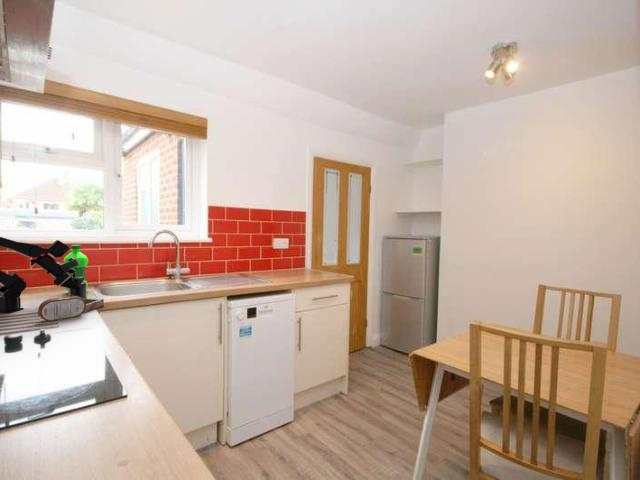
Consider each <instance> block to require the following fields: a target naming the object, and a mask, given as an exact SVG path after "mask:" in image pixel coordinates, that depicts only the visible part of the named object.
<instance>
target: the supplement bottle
mask: <svg viewBox="0 0 640 480" xmlns="http://www.w3.org/2000/svg"><path fill="white" fill-rule="evenodd" d="M73 281H74V282H75V283H76V284H77V285H78V286H79V287H80V288H81V290H80V291H78V290H74V289H70V288H69V292H68V297H70V296H78V297H81V298H84V299H88V296H87V295H88V293H87V292H88V287H87V284H86V283H85V282H84V277H83V276H77V277H73Z"/></svg>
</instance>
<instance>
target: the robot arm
mask: <svg viewBox="0 0 640 480" xmlns="http://www.w3.org/2000/svg"><path fill="white" fill-rule="evenodd" d="M0 247H1V248H5V249H9V250H11V251H14V252H16V253H18V254H20V255H23V256H24V257H27V258H32V259H30V260H29V263H30V265H29V266H30V267H34V266H35V265H37V266H38V267H40V268H41V269H42V270H44V271H45V272H46V274H47V275H51V276H52V277H53V278H54V280H53V284H54V285H55V286H56V287H63V288H65V287H66V288H70V289H74V290H78V291H80V290H81V288H80V287H79V286H78V285H77V284H76V283H75V282H74V281H73V277H76V272H75V271H76V270H75V269H74V268H72V267H76V266H78V265H80V263H79V262H78V260H77V258H76V259H74V258H70V259H68V262H66V263H64V262H60V261H59V262H58V261H57V260H56V259H61V258H63V257H65V256H66V254H67V253H69V252H70V251H72V249H71V247H70V246H69V245H67V244H66V243H63V242H62V241H61V240H59V239H56V240H55V241H53V243H52V244H51V245H49V246H48V247H44V246H43V247H42V246H41V245H39V244H35V243H29V242H28V243H26V242H22V241H21V242H19V241H16V240H12V239H9V238H6V237H3V236H0ZM73 272H75V273H74V274H73ZM26 288H27V282H26V281H25V278H24V277H21V276H20V275H18V274H17V273H15V272H13V271H10V272H9V273H6V272H4V271H3V270H1V269H0V313H1V314H3V313H4V314H11V313H14V312H17V311H22V310H24V307H21V305H22V304H21V294H22V292H23V291H25V290H26ZM66 288H65V289H66Z"/></svg>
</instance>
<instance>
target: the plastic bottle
mask: <svg viewBox="0 0 640 480" xmlns="http://www.w3.org/2000/svg"><path fill="white" fill-rule="evenodd" d="M70 249H71V252H70V253H68V255H65V256H64V258H63V264H64V263H66V262H68V259H70V258H74V259H76V258H77V260H78V262H79V263H80V265H78V266H76V267H72V268H74V269H75V270H76V271H75V272H76V277H77V276H83V277H84V282H85V283H86V284H87V288H88V287H89V284H88V282H87V280H86V278H87V277H86V267H87V266H88V264H89V258H88V257H87V255H85V254H84V253H82V252H81V251H80V250H81V249H82V245H81V244H71V245H70ZM75 272H73V274H74V273H75ZM64 288H65V290H66V291H67V292H68V293H69V288H66V287H64Z"/></svg>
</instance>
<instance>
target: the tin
mask: <svg viewBox="0 0 640 480" xmlns="http://www.w3.org/2000/svg"><path fill="white" fill-rule="evenodd" d="M85 309H86V302H85V301H84V300H83V299H82V298H81V297H78V296H70V297H69V296H64V297H55V298H54V297H53V298H49V299H46V300H44V301H43V302H41V303H40V304H39V305H38V309H37V314H38V316H39V317H40V318H41V319H42V320H44V321H48V322H53V321H61V320H65V319H66V320H67V319H71V318H72V319H73V318H77V317H80V316H82V314H84V313H83V312H84V311H85Z"/></svg>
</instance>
